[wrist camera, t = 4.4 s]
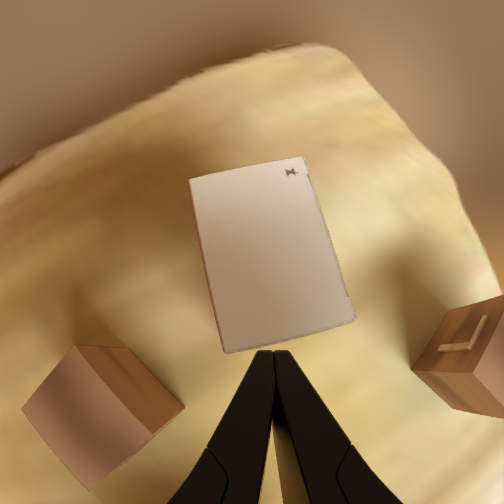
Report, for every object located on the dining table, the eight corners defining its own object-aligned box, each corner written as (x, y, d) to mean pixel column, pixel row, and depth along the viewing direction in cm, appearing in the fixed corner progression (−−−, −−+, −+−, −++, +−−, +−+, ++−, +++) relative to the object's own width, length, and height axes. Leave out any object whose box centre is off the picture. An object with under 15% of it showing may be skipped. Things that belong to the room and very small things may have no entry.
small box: (211, 246, 24) (184, 173, 14) (283, 230, 24) (303, 150, 14) (235, 352, 22) (220, 357, 12) (311, 333, 22) (359, 320, 12)
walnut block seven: (452, 408, 20) (515, 420, 12) (409, 368, 21) (470, 371, 13) (486, 351, 21) (549, 344, 13) (447, 309, 22) (510, 289, 15)
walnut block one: (135, 454, 19) (88, 491, 11) (81, 395, 20) (19, 406, 13) (185, 406, 20) (152, 434, 13) (127, 346, 22) (72, 342, 14)
